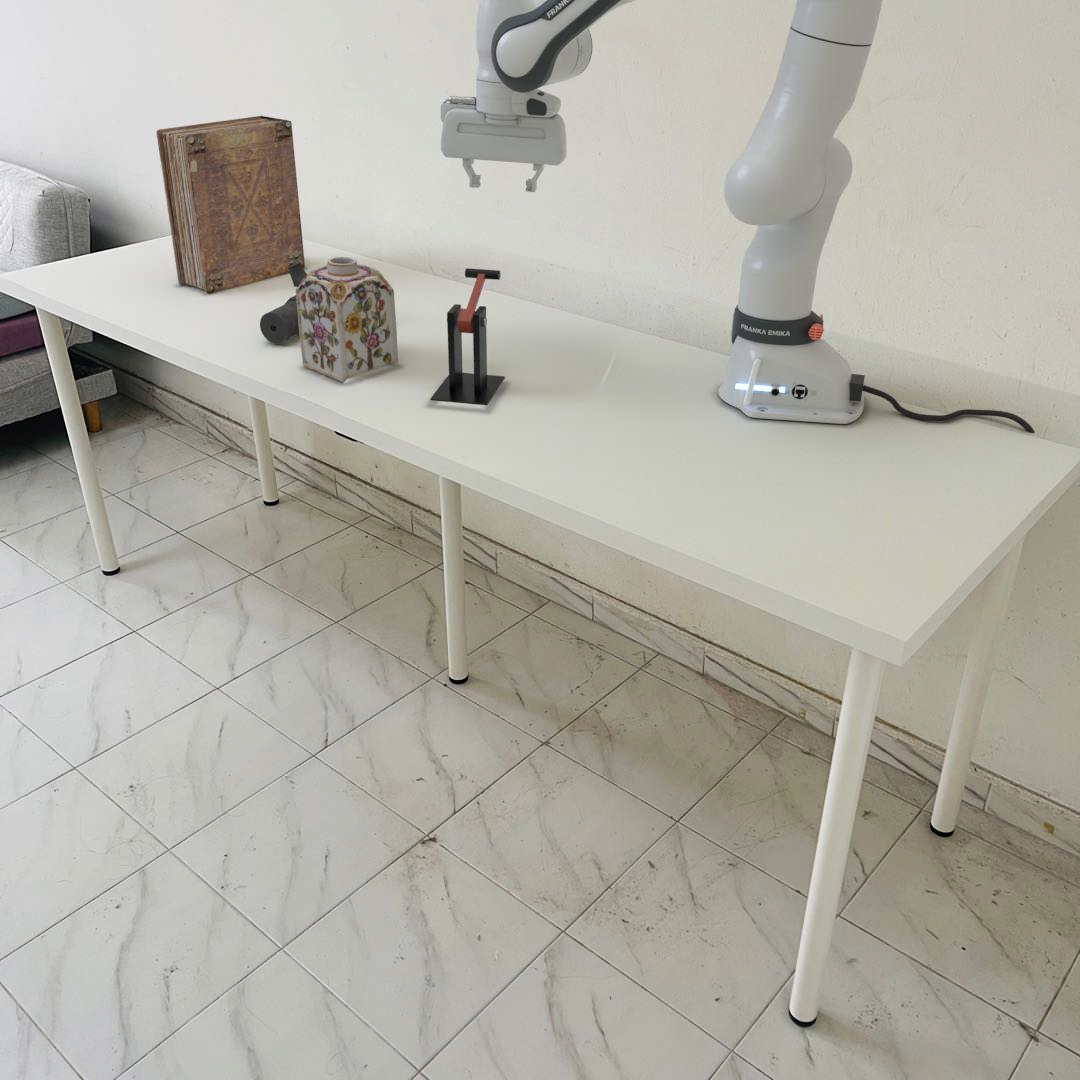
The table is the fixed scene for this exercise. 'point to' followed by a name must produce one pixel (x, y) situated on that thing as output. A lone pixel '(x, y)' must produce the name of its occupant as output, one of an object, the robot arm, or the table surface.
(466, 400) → the switch bracket
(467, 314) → the switch lever
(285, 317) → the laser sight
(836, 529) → the table surface
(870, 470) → the table surface
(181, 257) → the book
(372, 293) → the decorative jar
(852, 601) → the table surface
